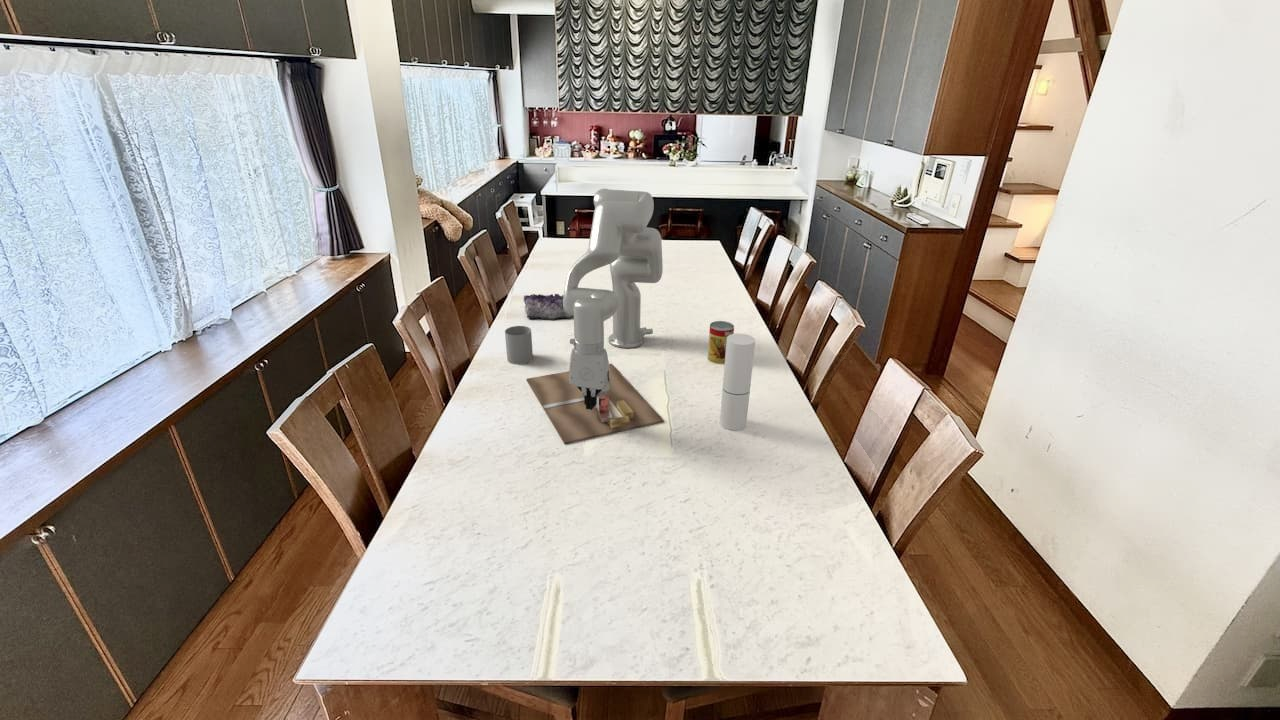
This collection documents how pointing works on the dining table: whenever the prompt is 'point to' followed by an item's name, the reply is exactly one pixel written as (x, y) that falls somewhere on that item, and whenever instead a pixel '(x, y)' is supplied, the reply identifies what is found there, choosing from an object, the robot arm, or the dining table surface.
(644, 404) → the board
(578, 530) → the dining table surface
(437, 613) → the dining table surface
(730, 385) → the cylindrical container
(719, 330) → the canned food
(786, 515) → the dining table surface
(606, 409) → the arm
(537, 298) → the geode
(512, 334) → the cup
